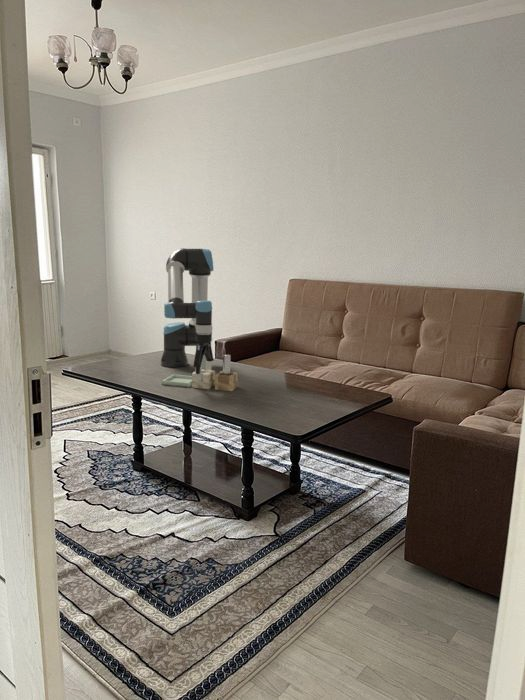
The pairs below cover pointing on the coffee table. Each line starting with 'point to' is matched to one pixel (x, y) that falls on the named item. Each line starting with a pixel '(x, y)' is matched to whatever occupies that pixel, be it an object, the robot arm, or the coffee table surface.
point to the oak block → (226, 381)
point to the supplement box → (203, 363)
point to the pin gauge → (226, 365)
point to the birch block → (204, 379)
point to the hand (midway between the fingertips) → (203, 377)
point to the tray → (178, 381)
